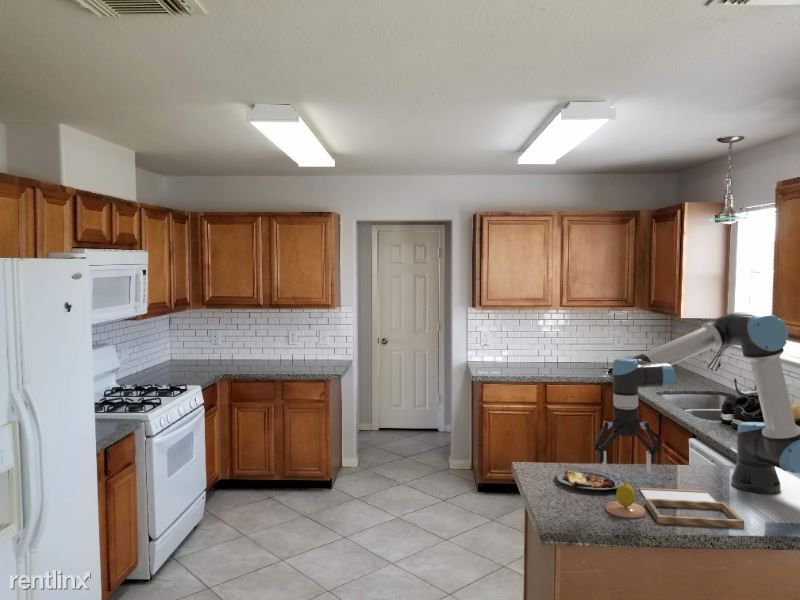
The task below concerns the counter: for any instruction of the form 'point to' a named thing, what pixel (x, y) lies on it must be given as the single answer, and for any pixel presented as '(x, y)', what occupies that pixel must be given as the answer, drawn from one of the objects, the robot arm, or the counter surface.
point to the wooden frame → (732, 522)
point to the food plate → (577, 480)
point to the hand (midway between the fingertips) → (626, 472)
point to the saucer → (625, 510)
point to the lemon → (625, 495)
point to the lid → (676, 494)
